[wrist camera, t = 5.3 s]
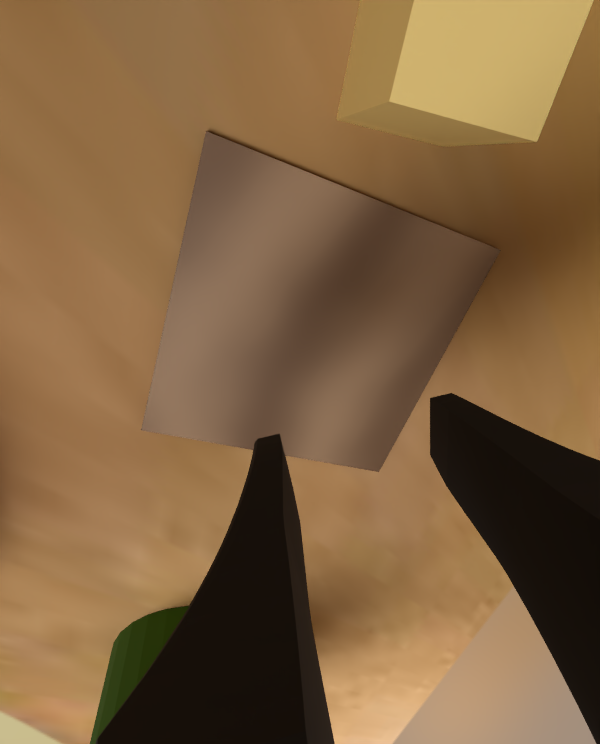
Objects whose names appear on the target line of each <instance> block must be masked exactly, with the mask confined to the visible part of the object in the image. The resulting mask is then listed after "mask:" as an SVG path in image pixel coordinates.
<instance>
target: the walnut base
mask: <svg viewBox="0 0 600 744" xmlns="http://www.w3.org/2000/svg"><path fill="white" fill-rule="evenodd" d="M500 251H501V250H499V249H497V248H494V247H492V246H489V245H487V244H484V243H482V242H479V241H477V240H474V239H472V238H470V237H467V236H465V235H462V234H460V233H457V232H455V231H452V230H450V229H447V228H445V227H442V226H440V225H437V224H435V223H432V222H430V221H427V220H425V219H422V218H420V217H418V216H415V215H413V214H410V213H408V212H405V211H403V210H400V209H398V208H395V207H393V206H390V205H388V204H385V203H383V202H380V201H378V200H375V199H373V198H370V197H368V196H366V195H363V194H361V193H358V192H356V191H353V190H351V189H348V188H346V187H343V186H341V185H338V184H336V183H333V182H331V181H328V180H326V179H323V178H321V177H318V176H316V175H314V174H311V173H309V172H306V171H304V170H301V169H299V168H296V167H294V166H291V165H289V164H286V163H284V162H281V161H279V160H276V159H274V158H271V157H269V156H266V155H264V154H262V153H259V152H257V151H254V150H252V149H249V148H247V147H244V146H242V145H239V144H237V143H234V142H232V141H229V140H227V139H224V138H222V137H219V136H217V135H214V134H212V133H210V132H207V131H206V134H205V139H204V143H203V148H202V153H201V157H200V162H199V167H198V171H197V176H196V180H195V185H194V190H193V194H192V199H191V203H190V208H189V213H188V217H187V222H186V226H185V231H184V236H183V240H182V245H181V249H180V254H179V259H178V263H177V268H176V272H175V277H174V282H173V286H172V291H171V295H170V300H169V305H168V309H167V314H166V318H165V323H164V328H163V332H162V337H161V341H160V346H159V351H158V355H157V360H156V364H155V369H154V374H153V378H152V383H151V387H150V392H149V397H148V401H147V406H146V411H145V415H144V420H143V424H142V429H141V430H143V431H148V432H154V433H160V434H165V435H171V436H177V437H183V438H188V439H194V440H200V441H205V442H211V443H217V444H223V445H228V446H234V447H240V448H245V449H251V450H254V443H255V441H256V440H257V439H258V438H262V437H267V436H271V435H275V434H280V436H281V441H282V445H283V449H284V453H285V456H291V457H297V458H302V459H308V460H314V461H320V462H325V463H331V464H337V465H342V466H348V467H354V468H360V469H365V470H371V471H377V472H379V471H380V469H381V467H382V465H383V463H384V462H385V460H386V458H387V456H388V454H389V452H390V451H391V449H392V447H393V445H394V443H395V442H396V440H397V438H398V436H399V434H400V432H401V431H402V429H403V427H404V425H405V423H406V422H407V420H408V418H409V416H410V414H411V412H412V411H413V409H414V407H415V405H416V403H417V402H418V400H419V398H420V396H421V394H422V392H423V391H424V389H425V387H426V385H427V383H428V382H429V380H430V378H431V376H432V374H433V372H434V371H435V369H436V367H437V365H438V363H439V362H440V360H441V358H442V356H443V354H444V352H445V351H446V349H447V347H448V345H449V343H450V342H451V340H452V338H453V336H454V334H455V332H456V331H457V329H458V327H459V325H460V323H461V322H462V320H463V318H464V316H465V314H466V312H467V311H468V309H469V307H470V305H471V303H472V302H473V300H474V298H475V296H476V294H477V292H478V291H479V289H480V287H481V285H482V283H483V282H484V280H485V278H486V276H487V274H488V272H489V271H490V269H491V267H492V265H493V263H494V262H495V260H496V258H497V256H498V254H499V252H500Z"/></svg>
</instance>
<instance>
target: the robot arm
mask: <svg viewBox="0 0 600 744" xmlns="http://www.w3.org/2000/svg"><path fill="white" fill-rule="evenodd" d="M430 455H431V457H432V459H433V461H434V463H435V465H436V467H437V469H438V471H439V473H440V475H441V477H442V478H443V480H444V482H445V484H446V486H447V487H448V489H449V490H450V492H451V493H452V495H453V496H454V498H455V499H456V501H457V502H458V503H459V505H460V506H461V508H462V509H463V511H464V512H465V514H466V515H467V516H468V518H469V519H470V521H471V522H472V523H473V525H474V526H475V528H476V529H477V531H478V532H479V533H480V535H481V536H482V538H483V539H484V541H485V542H486V543H487V545H488V546H489V548H490V549H491V551H492V552H493V553H494V555H495V556H496V558H497V559H498V561H499V562H500V564H501V565H502V567H503V569H504V570H505V572H506V573H507V575H508V577H509V578H510V580H511V582H512V584H513V585H514V587H515V589H516V591H517V592H518V594H519V596H520V598H521V599H522V601H523V603H524V605H525V606H526V608H527V610H528V611H529V614H530V615H531V617H532V619H533V621H534V623H535V625H536V626H537V628H538V630H539V632H540V634H541V636H542V637H543V639H544V641H545V643H546V645H547V647H548V649H549V650H550V652H551V654H552V656H553V658H554V660H555V662H556V664H557V666H558V668H559V670H560V671H561V673H562V675H563V677H564V679H565V681H566V683H567V685H568V687H569V689H570V691H571V692H572V695H573V697H574V699H575V701H576V703H577V705H578V706H579V709H580V711H581V713H582V715H583V717H584V719H585V721H586V723H587V725H588V727H589V729H590V731H591V733H592V735H593V737H594V739H595V741H596V743H597V744H600V461H599V460H597V459H594V458H591V457H588V456H586V455H583V454H581V453H578V452H576V451H573V450H571V449H568V448H566V447H564V446H561V445H559V444H557V443H554V442H552V441H550V440H547V439H545V438H543V437H540V436H538V435H536V434H534V433H532V432H530V431H527V430H525V429H523V428H521V427H519V426H517V425H515V424H513V423H511V422H509V421H507V420H505V419H503V418H501V417H499V416H497V415H495V414H493V413H491V412H489V411H487V410H485V409H483V408H481V407H479V406H477V405H475V404H473V403H471V402H469V401H467V400H465V399H463V398H461V397H459V396H457V395H454V394H452V393H450V394H446V395H441V396H437V397H433V398H430ZM95 744H334V738H333V733H332V728H331V723H330V718H329V713H328V708H327V702H326V697H325V692H324V687H323V682H322V676H321V671H320V666H319V661H318V656H317V650H316V645H315V640H314V634H313V629H312V623H311V616H310V609H309V601H308V592H307V582H306V573H305V563H304V554H303V544H302V535H301V526H300V519H299V515H298V510H297V505H296V500H295V495H294V491H293V486H292V482H291V478H290V474H289V470H288V465H287V461H286V457H285V453H284V449H283V445H282V441H281V436H280V434H275V435H271V436H267V437H262V438H258V439H257V440H256V441H255V443H254V450H253V455H252V460H251V464H250V468H249V472H248V475H247V479H246V482H245V485H244V488H243V491H242V494H241V497H240V500H239V503H238V506H237V508H236V511H235V514H234V516H233V519H232V521H231V524H230V526H229V529H228V531H227V534H226V536H225V538H224V540H223V543H222V545H221V547H220V549H219V551H218V553H217V555H216V557H215V559H214V561H213V563H212V565H211V567H210V569H209V571H208V573H207V575H206V577H205V579H204V581H203V582H202V584H201V586H200V588H199V590H198V591H197V593H196V595H195V597H194V599H193V600H192V602H191V604H190V605H189V607H188V609H187V611H186V612H185V614H184V616H183V617H182V619H181V620H180V622H179V623H178V625H177V627H176V628H175V630H174V631H173V633H172V634H171V636H170V637H169V639H168V640H167V642H166V643H165V645H164V646H163V648H162V650H161V651H160V653H159V654H158V656H157V657H156V659H155V660H154V662H153V663H152V665H151V666H150V668H149V669H148V670H147V672H146V673H145V675H144V676H143V678H142V679H141V680H140V682H139V683H138V684H137V686H136V687H135V688H134V690H133V691H132V692H131V694H130V695H129V696H128V698H127V699H126V700H125V702H124V703H123V705H122V706H121V707H120V709H119V710H118V711H117V713H116V714H115V715H114V717H113V718H112V719H111V721H110V722H109V723H108V725H107V726H106V727H105V729H104V730H103V731H102V733H101V734H100V735H99V737H98V738H97V740H96V743H95Z"/></svg>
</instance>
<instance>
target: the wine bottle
mask: <svg viewBox="0 0 600 744" xmlns="http://www.w3.org/2000/svg"><path fill="white" fill-rule="evenodd" d="M188 607H189V606H185V607H178V608H170V609H165V610H162V611H158V612H155V613H152V614H148V615H146V616H144V617H142V618H140V619H138V620H136V621H134V622H133V623H131V624H130V625H129V626H128V627H126V628H125V629H124V630H123V631H122V632H120V634H119V635H118V637H117V639H116V640H115V642H114V644H113V648H112V652H111V656H110V661H109V665H108V669H107V673H106V678H105V682H104V686H103V690H102V695H101V699H100V703H99V707H98V712H97V716H96V720H95V724H94V729H93V733H92V737H91V741H90V744H95V743H96V740H97V738H98V737H99V735H100V734H101V733H102V731H103V730H104V729H105V727H106V726H107V725H108V723H109V722H110V721H111V719H112V718H113V717H114V715H115V714H116V713H117V711H118V710H119V709H120V707H121V706H122V705H123V703H124V702H125V700H126V699H127V698H128V696H129V695H130V694H131V692H132V691H133V690H134V688H135V687H136V686H137V684H138V683H139V682H140V680H141V679H142V678H143V676H144V675H145V673H146V672H147V670H148V669H149V668H150V666H151V665H152V663H153V662H154V660H155V659H156V657H157V656H158V654H159V653H160V651H161V650H162V648H163V646H164V645H165V643H166V642H167V640H168V639H169V637H170V636H171V634H172V633H173V631H174V630H175V628H176V627H177V625H178V623H179V622H180V620H181V619H182V617H183V616H184V614H185V612H186V611H187V609H188Z"/></svg>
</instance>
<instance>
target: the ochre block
mask: <svg viewBox="0 0 600 744" xmlns="http://www.w3.org/2000/svg"><path fill="white" fill-rule="evenodd" d="M593 1H594V0H360V4H359V9H358V14H357V19H356V24H355V29H354V34H353V39H352V44H351V49H350V54H349V59H348V64H347V69H346V74H345V79H344V84H343V89H342V94H341V99H340V104H339V109H338V114H337V119H336V120H339V121H343V122H347V123H351V124H355V125H359V126H362V127H366V128H370V129H374V130H378V131H382V132H386V133H390V134H394V135H398V136H402V137H406V138H410V139H414V140H417V141H421V142H425V143H429V144H433V145H437V146H441V147H448V146H468V145H488V144H508V143H528V142H537V141H538V138H539V136H540V133H541V131H542V128H543V126H544V123H545V121H546V118H547V116H548V113H549V111H550V108H551V106H552V103H553V101H554V98H555V96H556V93H557V91H558V88H559V86H560V83H561V81H562V78H563V76H564V73H565V71H566V68H567V66H568V63H569V61H570V58H571V56H572V53H573V51H574V48H575V46H576V43H577V41H578V38H579V36H580V33H581V31H582V28H583V26H584V23H585V21H586V18H587V16H588V13H589V11H590V8H591V6H592V3H593Z"/></svg>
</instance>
